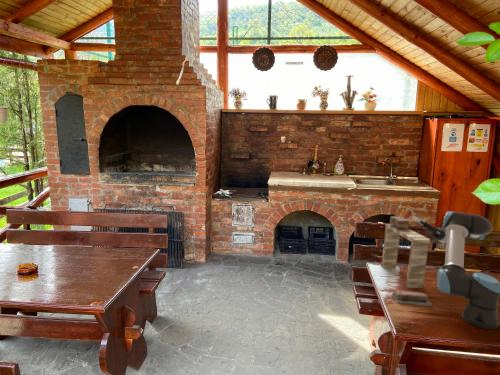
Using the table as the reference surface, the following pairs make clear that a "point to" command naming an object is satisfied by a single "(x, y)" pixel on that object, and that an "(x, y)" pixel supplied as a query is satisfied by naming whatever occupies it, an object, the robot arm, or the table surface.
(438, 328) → the table surface
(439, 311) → the table surface
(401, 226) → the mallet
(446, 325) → the table surface
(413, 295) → the packaged product
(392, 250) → the frame
